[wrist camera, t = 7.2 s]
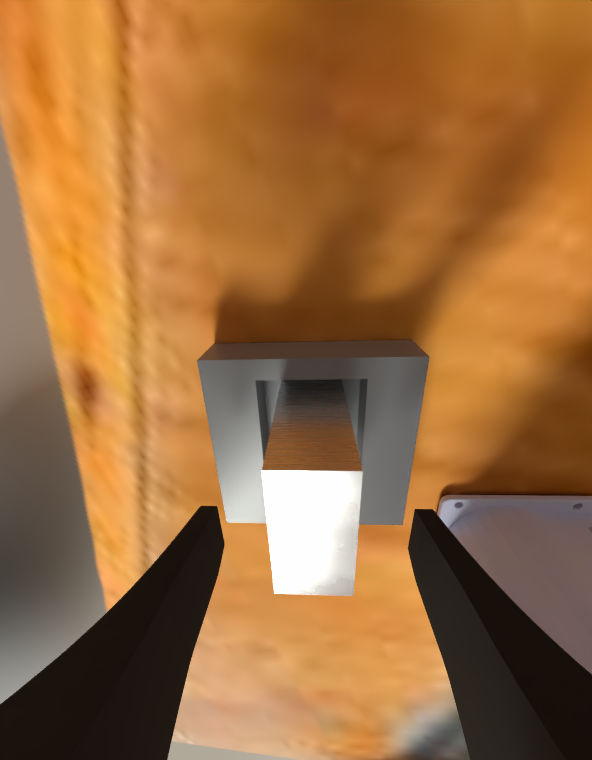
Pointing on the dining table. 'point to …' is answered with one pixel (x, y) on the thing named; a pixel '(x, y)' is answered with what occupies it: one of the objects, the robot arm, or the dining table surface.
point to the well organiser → (365, 403)
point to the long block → (312, 490)
